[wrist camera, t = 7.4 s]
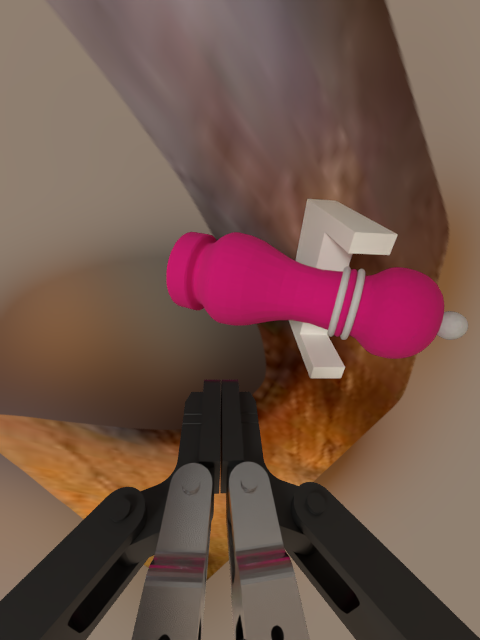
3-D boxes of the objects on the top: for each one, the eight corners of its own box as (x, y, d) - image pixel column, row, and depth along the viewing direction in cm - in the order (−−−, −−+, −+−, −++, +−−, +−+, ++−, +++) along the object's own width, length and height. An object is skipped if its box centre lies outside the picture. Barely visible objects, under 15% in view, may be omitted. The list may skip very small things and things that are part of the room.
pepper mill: (192, 319, 26) (430, 384, 19) (148, 298, 19) (493, 388, 13) (215, 250, 27) (449, 291, 20) (181, 206, 20) (517, 249, 14)
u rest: (307, 198, 23) (354, 232, 15) (335, 200, 23) (397, 234, 15) (285, 312, 29) (310, 378, 21) (307, 312, 29) (340, 378, 21)
